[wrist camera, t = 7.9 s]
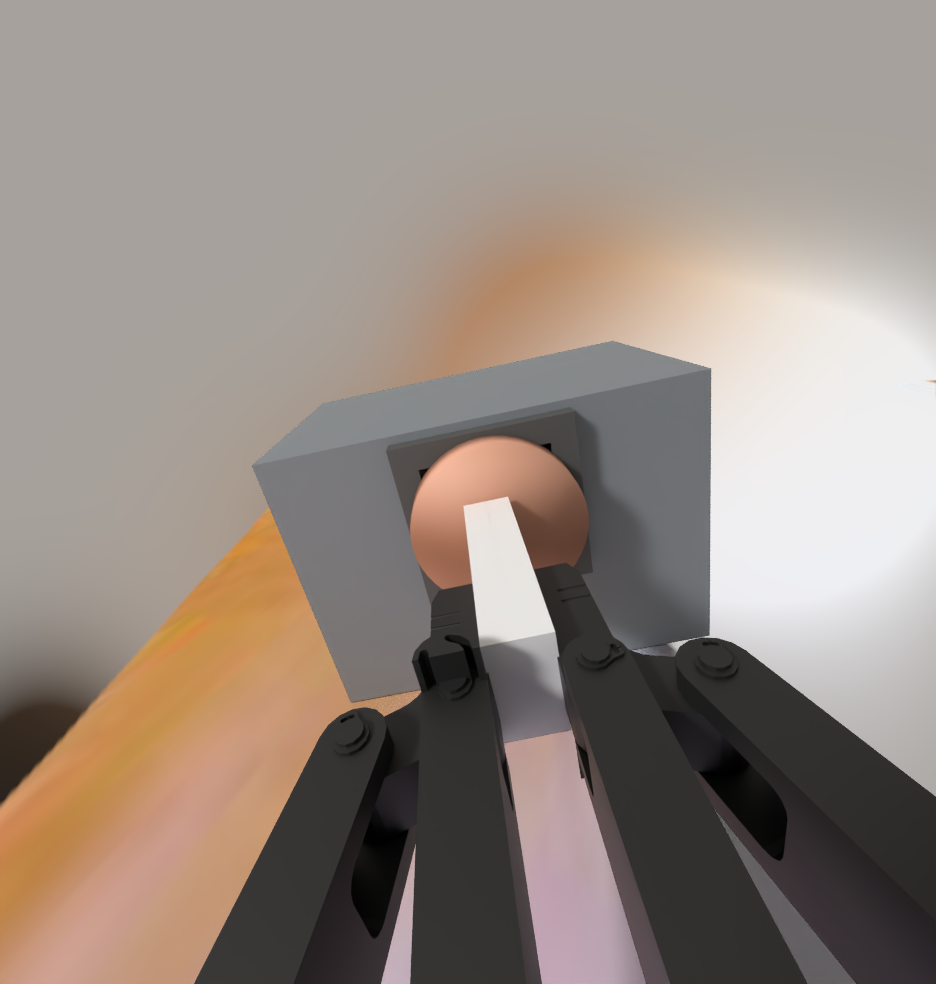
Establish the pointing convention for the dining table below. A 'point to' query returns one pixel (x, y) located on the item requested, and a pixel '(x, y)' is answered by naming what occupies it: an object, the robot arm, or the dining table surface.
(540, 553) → the round knob
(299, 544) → the socket block
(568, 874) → the dining table surface
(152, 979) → the dining table surface
